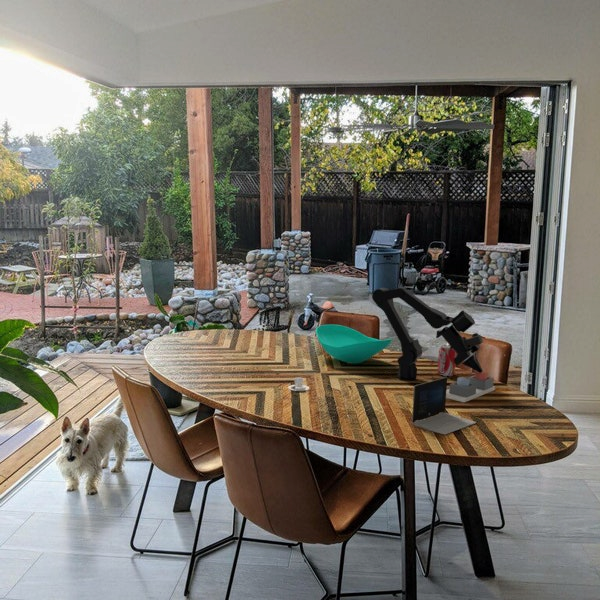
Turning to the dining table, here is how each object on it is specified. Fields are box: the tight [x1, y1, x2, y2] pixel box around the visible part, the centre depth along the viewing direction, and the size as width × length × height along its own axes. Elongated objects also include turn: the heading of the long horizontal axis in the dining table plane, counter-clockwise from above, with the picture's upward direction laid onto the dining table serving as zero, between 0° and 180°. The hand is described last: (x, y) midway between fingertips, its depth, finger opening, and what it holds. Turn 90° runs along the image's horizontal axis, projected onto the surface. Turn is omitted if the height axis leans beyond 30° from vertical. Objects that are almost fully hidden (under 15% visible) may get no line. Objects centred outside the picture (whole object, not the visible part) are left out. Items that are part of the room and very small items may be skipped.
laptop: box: [411, 376, 477, 436], centre depth 205 cm, size 18×12×13 cm
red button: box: [474, 370, 488, 380], centre depth 246 cm, size 4×4×5 cm
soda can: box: [437, 344, 457, 377], centre depth 267 cm, size 7×7×12 cm
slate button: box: [456, 376, 470, 387], centre depth 236 cm, size 4×4×5 cm
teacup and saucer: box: [287, 376, 310, 392], centre depth 240 cm, size 9×8×4 cm
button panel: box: [446, 374, 496, 403], centre depth 242 cm, size 10×24×5 cm, turn 138°
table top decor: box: [315, 323, 393, 364], centre depth 284 cm, size 40×28×13 cm
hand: (481, 371), depth 246 cm, fingers closed, pressing on red button
